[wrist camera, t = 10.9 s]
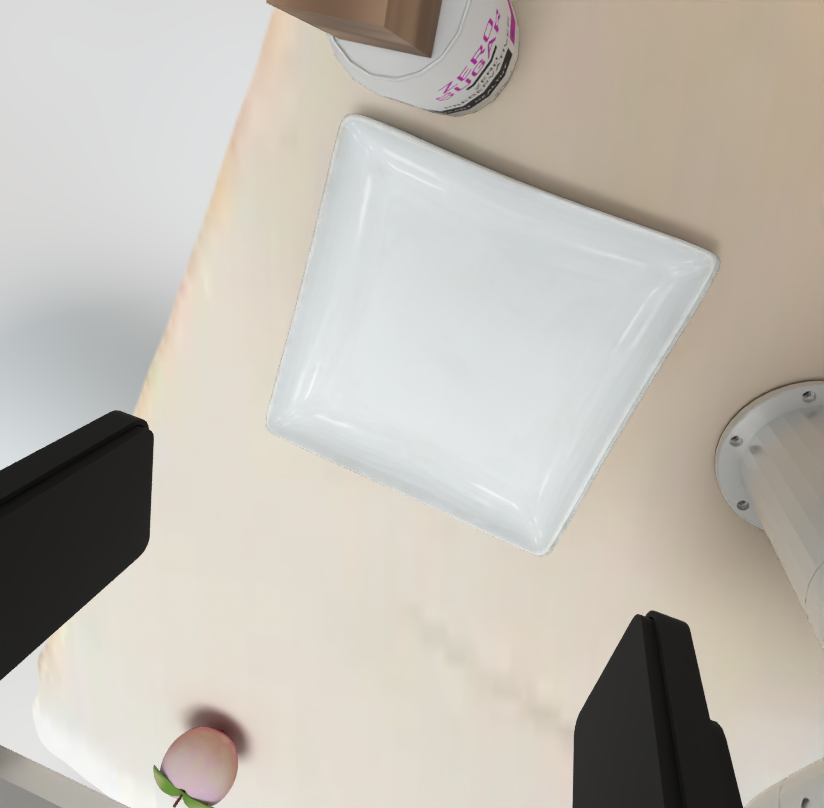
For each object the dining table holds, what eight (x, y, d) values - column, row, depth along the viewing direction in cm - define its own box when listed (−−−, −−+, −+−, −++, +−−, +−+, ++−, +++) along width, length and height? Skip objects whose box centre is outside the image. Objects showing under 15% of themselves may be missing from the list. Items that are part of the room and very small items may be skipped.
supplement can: (410, -32, 38) (316, -135, 25) (534, -16, 36) (505, -117, 23) (392, 106, 41) (301, 80, 28) (505, 125, 40) (465, 108, 27)
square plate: (549, 538, 52) (546, 565, 48) (279, 414, 55) (258, 431, 51) (717, 251, 40) (730, 259, 36) (359, 110, 42) (340, 106, 39)
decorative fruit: (259, 725, 73) (214, 803, 64) (250, 763, 76) (206, 842, 68) (194, 694, 74) (140, 767, 65) (187, 732, 78) (136, 806, 69)
